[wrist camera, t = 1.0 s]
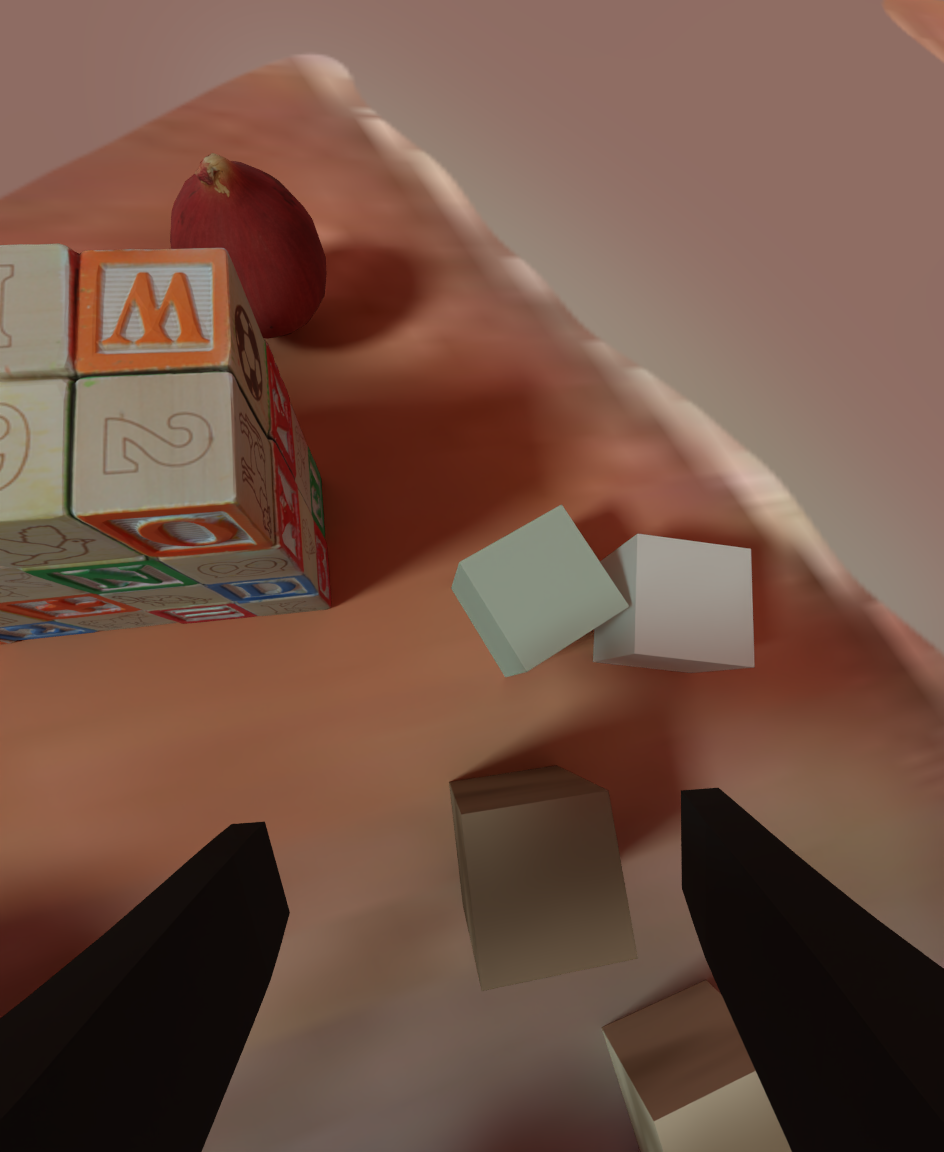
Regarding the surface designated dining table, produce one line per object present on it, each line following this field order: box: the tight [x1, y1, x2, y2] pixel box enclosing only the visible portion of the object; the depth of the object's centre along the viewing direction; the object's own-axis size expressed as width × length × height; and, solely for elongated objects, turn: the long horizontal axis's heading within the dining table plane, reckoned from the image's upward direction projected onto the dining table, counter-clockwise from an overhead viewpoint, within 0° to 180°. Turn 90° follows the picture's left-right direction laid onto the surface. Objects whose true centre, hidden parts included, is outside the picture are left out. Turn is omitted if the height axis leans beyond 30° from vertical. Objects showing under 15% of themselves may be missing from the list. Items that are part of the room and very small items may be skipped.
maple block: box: [602, 980, 792, 1152], centre depth 17 cm, size 4×4×4 cm
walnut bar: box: [449, 765, 638, 991], centre depth 18 cm, size 4×4×6 cm
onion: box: [170, 153, 326, 338], centre depth 21 cm, size 6×6×8 cm
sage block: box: [451, 505, 629, 677], centre depth 21 cm, size 4×4×4 cm
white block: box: [593, 534, 755, 673], centre depth 21 cm, size 4×4×4 cm
